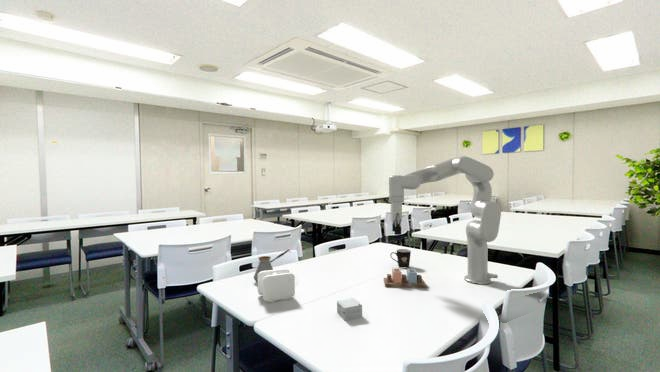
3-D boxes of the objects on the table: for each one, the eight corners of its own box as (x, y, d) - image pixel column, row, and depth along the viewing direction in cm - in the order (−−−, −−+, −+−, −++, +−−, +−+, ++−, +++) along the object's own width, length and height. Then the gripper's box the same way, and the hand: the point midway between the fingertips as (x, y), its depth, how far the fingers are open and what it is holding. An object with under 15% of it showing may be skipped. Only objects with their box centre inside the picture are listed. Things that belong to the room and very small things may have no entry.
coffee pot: (259, 287, 155) (259, 257, 155) (250, 281, 164) (249, 253, 164) (295, 278, 169) (295, 251, 168) (285, 273, 178) (284, 247, 177)
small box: (336, 313, 125) (336, 300, 124) (354, 310, 127) (354, 297, 127) (344, 321, 117) (344, 307, 117) (362, 317, 120) (362, 304, 120)
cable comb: (422, 281, 162) (422, 272, 162) (426, 287, 152) (426, 278, 152) (383, 280, 164) (383, 272, 164) (385, 286, 154) (385, 277, 154)
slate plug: (414, 279, 161) (414, 268, 161) (416, 283, 154) (416, 272, 154) (406, 279, 161) (406, 268, 161) (408, 283, 155) (408, 272, 155)
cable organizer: (261, 304, 134) (261, 277, 134) (257, 295, 144) (257, 270, 144) (295, 298, 140) (294, 273, 140) (288, 291, 150) (288, 267, 149)
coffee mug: (412, 266, 191) (412, 249, 191) (408, 269, 184) (408, 252, 184) (394, 263, 198) (394, 247, 197) (389, 266, 190) (389, 250, 190)
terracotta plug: (399, 279, 162) (399, 268, 162) (401, 283, 155) (401, 271, 155) (392, 278, 162) (392, 268, 162) (393, 282, 155) (393, 271, 155)
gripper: (387, 198, 167) (387, 230, 167) (390, 200, 150) (391, 235, 150) (401, 198, 166) (401, 230, 166) (406, 200, 149) (406, 236, 149)
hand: (396, 232), depth 158 cm, fingers open, 9 cm apart
